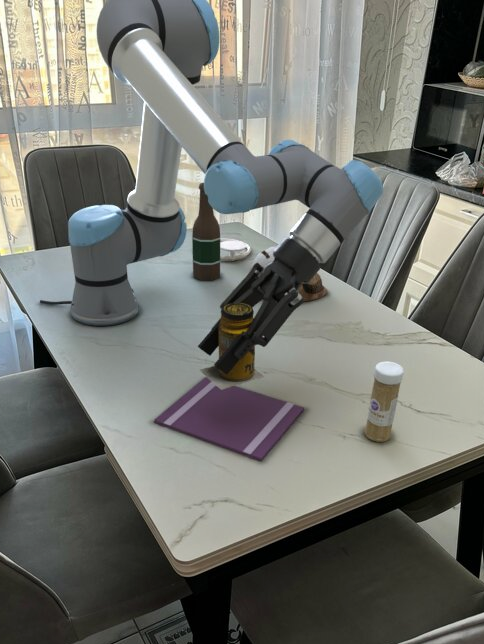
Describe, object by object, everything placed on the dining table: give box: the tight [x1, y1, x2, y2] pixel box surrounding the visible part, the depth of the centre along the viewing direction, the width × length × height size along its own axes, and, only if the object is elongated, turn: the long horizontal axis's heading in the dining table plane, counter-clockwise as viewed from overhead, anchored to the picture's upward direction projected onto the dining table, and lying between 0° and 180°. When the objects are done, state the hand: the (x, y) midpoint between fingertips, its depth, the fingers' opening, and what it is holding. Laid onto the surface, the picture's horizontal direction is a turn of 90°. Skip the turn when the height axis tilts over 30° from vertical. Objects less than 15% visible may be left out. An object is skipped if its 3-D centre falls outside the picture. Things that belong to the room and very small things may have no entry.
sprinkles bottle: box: [364, 360, 405, 443], centre depth 100 cm, size 5×5×13 cm
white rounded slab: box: [220, 237, 252, 262], centre depth 176 cm, size 17×4×21 cm
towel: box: [153, 376, 305, 462], centre depth 107 cm, size 21×17×1 cm
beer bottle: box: [191, 182, 221, 282], centre depth 155 cm, size 8×8×24 cm
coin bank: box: [250, 245, 328, 302], centre depth 150 cm, size 16×17×13 cm
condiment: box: [199, 303, 265, 390], centre depth 99 cm, size 7×8×12 cm
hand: (212, 360), depth 99 cm, fingers closed on condiment, 6 cm apart
